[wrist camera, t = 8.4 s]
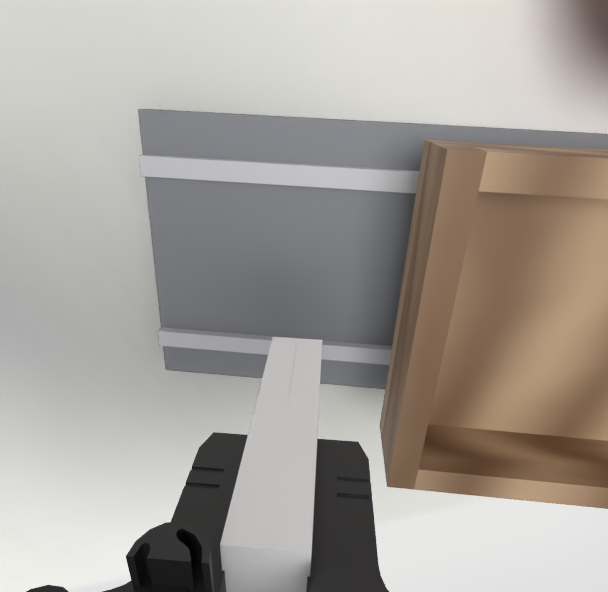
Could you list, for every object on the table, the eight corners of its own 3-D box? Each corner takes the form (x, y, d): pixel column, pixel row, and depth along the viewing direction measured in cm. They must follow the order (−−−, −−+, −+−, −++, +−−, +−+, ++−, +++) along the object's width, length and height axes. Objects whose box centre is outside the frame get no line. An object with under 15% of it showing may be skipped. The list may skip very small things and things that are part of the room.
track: (171, 361, 28) (145, 399, 24) (146, 109, 22) (107, 110, 18) (729, 409, 26) (792, 458, 22) (881, 148, 20) (1003, 159, 16)
